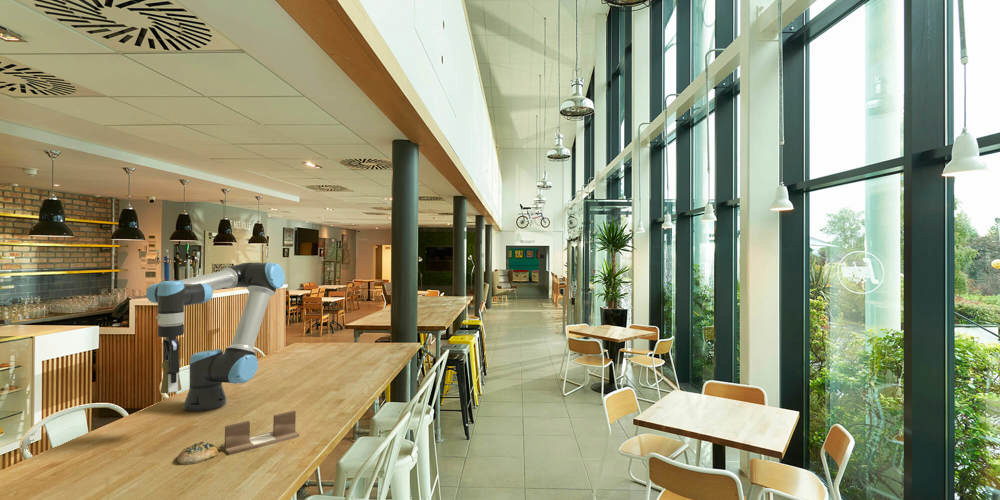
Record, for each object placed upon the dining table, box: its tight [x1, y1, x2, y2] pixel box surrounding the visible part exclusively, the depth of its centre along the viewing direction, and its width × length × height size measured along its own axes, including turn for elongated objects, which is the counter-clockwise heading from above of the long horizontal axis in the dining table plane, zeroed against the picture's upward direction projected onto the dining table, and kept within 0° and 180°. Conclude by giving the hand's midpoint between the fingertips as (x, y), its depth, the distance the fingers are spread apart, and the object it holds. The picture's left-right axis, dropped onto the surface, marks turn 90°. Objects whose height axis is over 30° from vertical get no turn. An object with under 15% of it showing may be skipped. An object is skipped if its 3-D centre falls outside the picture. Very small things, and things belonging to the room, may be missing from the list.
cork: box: [160, 360, 182, 394], centre depth 160 cm, size 6×6×11 cm
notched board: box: [221, 410, 300, 456], centre depth 155 cm, size 9×22×8 cm, turn 135°
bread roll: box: [176, 441, 219, 465], centre depth 143 cm, size 11×11×5 cm
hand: (171, 389), depth 160 cm, fingers closed on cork, 6 cm apart
